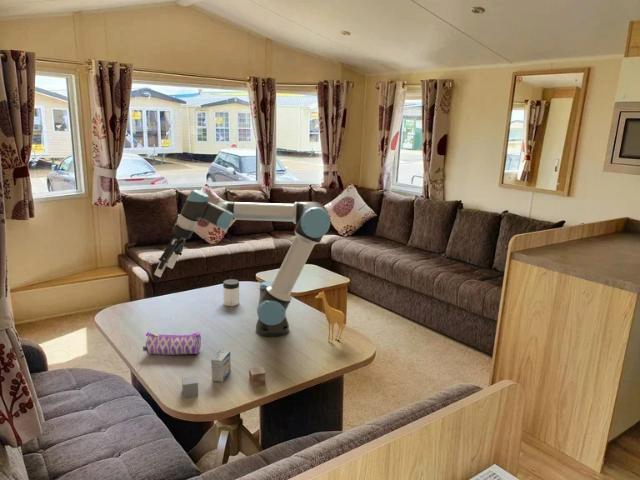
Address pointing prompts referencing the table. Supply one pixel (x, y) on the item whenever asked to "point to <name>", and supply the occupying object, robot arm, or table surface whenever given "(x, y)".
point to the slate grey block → (190, 386)
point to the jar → (231, 292)
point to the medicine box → (221, 366)
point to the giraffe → (332, 315)
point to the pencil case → (172, 344)
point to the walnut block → (257, 376)
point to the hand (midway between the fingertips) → (163, 271)
